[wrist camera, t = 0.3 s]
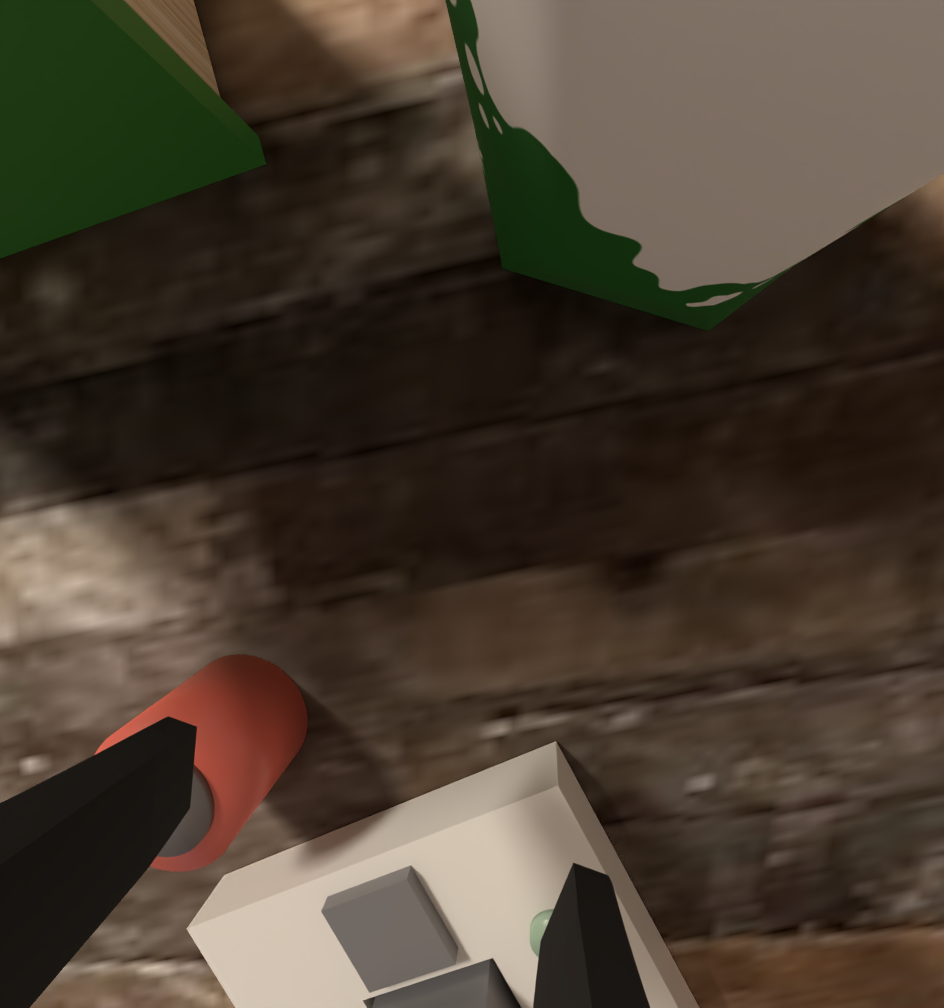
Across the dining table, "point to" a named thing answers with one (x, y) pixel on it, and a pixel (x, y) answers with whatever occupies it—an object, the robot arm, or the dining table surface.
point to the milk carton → (695, 136)
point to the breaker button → (454, 990)
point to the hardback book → (107, 114)
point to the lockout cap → (227, 750)
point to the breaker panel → (423, 896)
